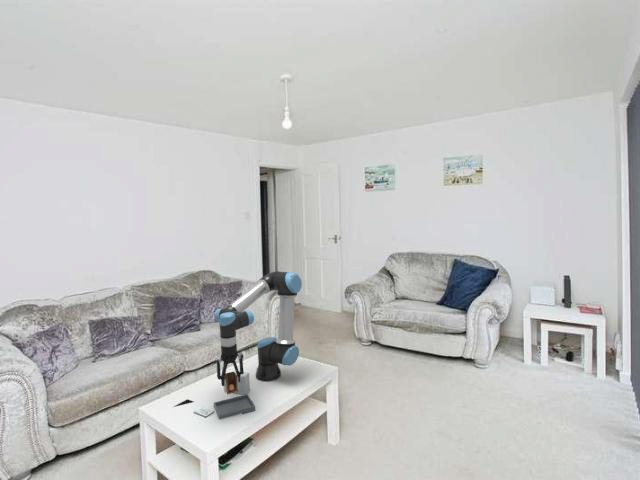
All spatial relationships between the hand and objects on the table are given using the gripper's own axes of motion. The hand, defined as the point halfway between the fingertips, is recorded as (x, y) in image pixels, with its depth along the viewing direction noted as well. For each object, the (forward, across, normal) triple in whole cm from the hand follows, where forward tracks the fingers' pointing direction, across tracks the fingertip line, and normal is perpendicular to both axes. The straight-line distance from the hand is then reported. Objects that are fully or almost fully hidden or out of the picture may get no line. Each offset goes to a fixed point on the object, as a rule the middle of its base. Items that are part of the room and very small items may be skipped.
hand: (231, 389), depth 181 cm
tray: (+12, -2, -4) cm, 13 cm away
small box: (+13, -9, -20) cm, 25 cm away
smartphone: (+13, +24, -18) cm, 32 cm away
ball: (-1, 0, 0) cm, 1 cm away
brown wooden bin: (0, 0, 0) cm, 0 cm away
